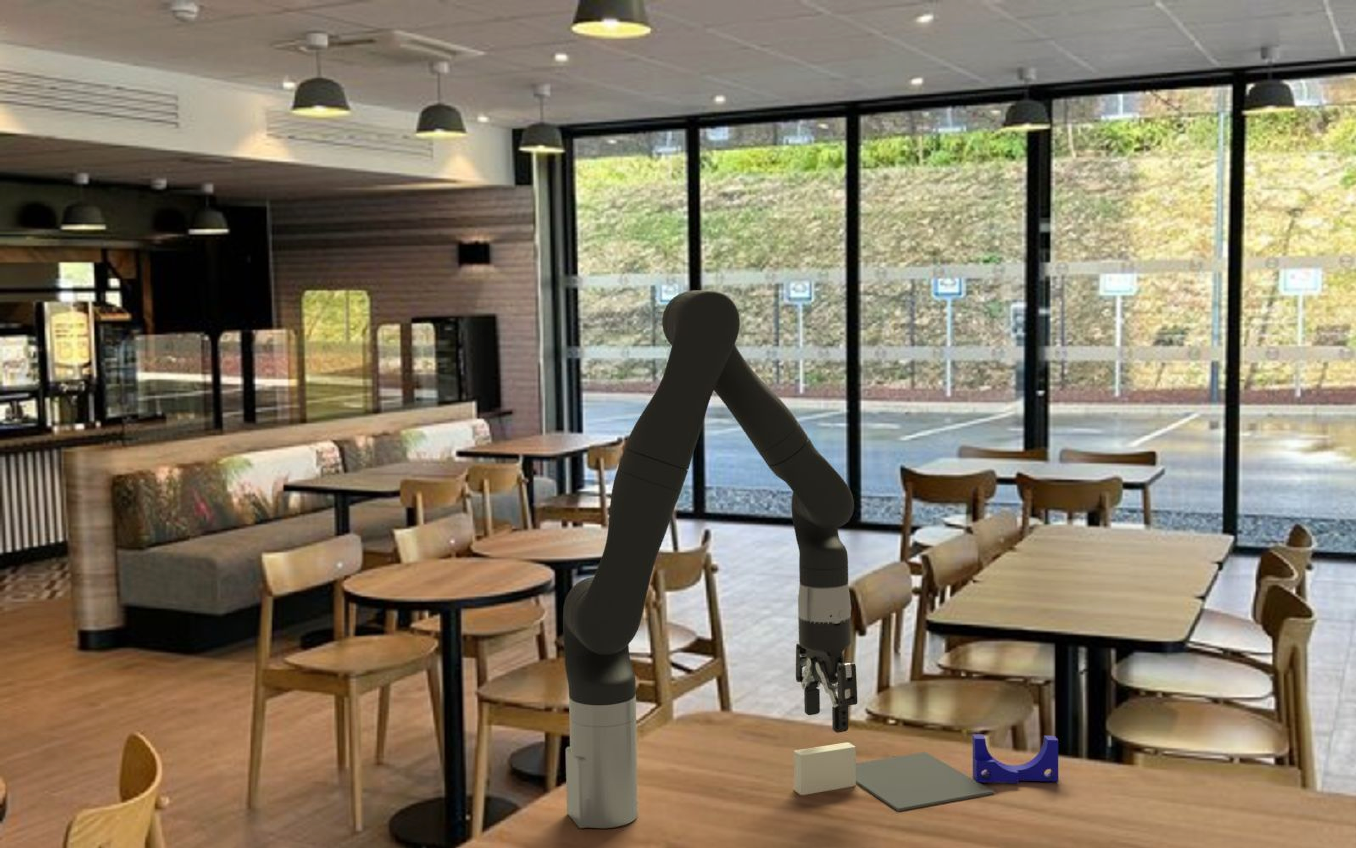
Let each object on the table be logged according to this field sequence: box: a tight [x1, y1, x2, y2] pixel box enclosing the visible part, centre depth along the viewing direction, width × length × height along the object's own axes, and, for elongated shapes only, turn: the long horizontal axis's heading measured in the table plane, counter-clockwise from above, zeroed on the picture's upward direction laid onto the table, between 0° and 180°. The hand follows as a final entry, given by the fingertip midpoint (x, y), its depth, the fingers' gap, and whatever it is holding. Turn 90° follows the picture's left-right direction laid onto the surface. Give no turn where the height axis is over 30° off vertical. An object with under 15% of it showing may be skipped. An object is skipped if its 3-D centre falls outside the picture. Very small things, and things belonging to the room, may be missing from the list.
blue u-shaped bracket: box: [972, 733, 1059, 784], centre depth 195 cm, size 12×4×6 cm, turn 84°
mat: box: [856, 751, 995, 812], centre depth 195 cm, size 16×18×1 cm
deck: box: [793, 741, 857, 796], centre depth 193 cm, size 9×2×6 cm, turn 112°
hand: (826, 722), depth 192 cm, fingers open, 8 cm apart
